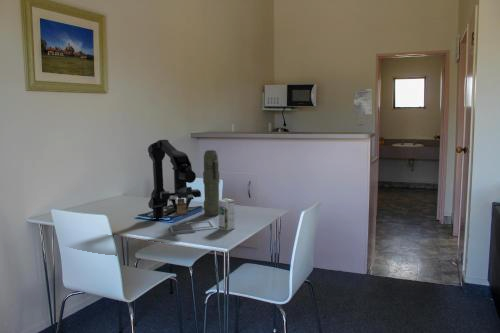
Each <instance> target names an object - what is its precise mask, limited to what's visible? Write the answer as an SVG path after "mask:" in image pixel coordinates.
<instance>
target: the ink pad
mask: <svg viewBox="0 0 500 333" xmlns="http://www.w3.org/2000/svg"><path fill="white" fill-rule="evenodd" d="M168 229H169V230H170V234H171V235H178V234H189V233H196V231H195V229H194V227H193V225H192V224H185V223H183V224H172V225H168Z"/></svg>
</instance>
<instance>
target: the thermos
mask: <svg viewBox="0 0 500 333" xmlns="http://www.w3.org/2000/svg"><path fill="white" fill-rule="evenodd" d="M220 180H221V179H220V171H219V155H218V153H217V150H213V149H208V150H205V152H204V153H203V172H202V181H203V186H204V187H203V189H204V200H203V212H204V216H206V217H217V216H219V200H220V188H219V187H220Z"/></svg>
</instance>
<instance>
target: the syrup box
mask: <svg viewBox="0 0 500 333" xmlns="http://www.w3.org/2000/svg"><path fill="white" fill-rule="evenodd" d="M235 220H236V219H235V200H234V199H230V198H221V199H220V198H219V215H218V229H219V230H223V231H226V232H228V231H232V230H235V228H236V227H235Z"/></svg>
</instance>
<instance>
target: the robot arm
mask: <svg viewBox="0 0 500 333" xmlns="http://www.w3.org/2000/svg"><path fill="white" fill-rule="evenodd" d="M147 152H148V155H149V156H148V157H149V158H150V160H151V161H152V171H153V172H152V174H153V189H152V191H151V193H150V194H151V195H150V200H149V201H148V204H147V205H148V208H149V209H152V216H153V218H156V219H159V218H162V217H163V216H165V212H164V209H165V208H167V207H168V204H169V203H168V202H169V201H170V202H171V203H172V206H173V209H174V211H175V213H176V212H177V208H176V201H177V200H176V198H177V199H180V198H183V199H185V203H186V205H187V211H188V210H189V205H190V203H191V201H192V200H194V199H195V198H202V193H201V190H200V189H197V188H196V189H192V186H187V184H192V183H194V182H195V180H196V178H197V175H196V173H195V171H193V167H192V162H191V161H190V159H189V156H188V154H187V153H185V152H184V151H182V150H181V151H180V150H178V149H176V148H175V147H174V146H173V145H172V144H171V143H170V141H169V140H168V139H158V140H156V142H153V143H151V144H150V145H149V146H148V147H147ZM166 156H168V157H169V159H170V160H169V161H170V163H171V165H172V166H173V167H172V168H171V169H172V170H173V179H174V180H173V184H174V192H170V191H169V190H167V191H166V190H165V189H164V175H163V174H164V171H163V170H164V169H163V160H164V158H165V157H166ZM175 197H176V198H175ZM156 219H152V221H157V220H156Z"/></svg>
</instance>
